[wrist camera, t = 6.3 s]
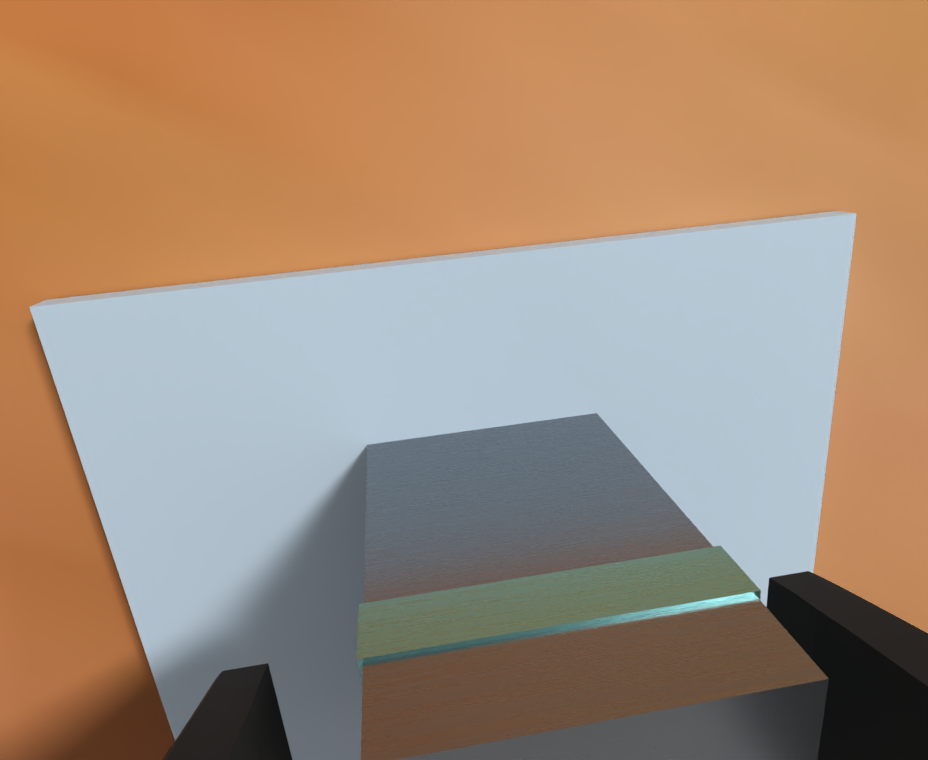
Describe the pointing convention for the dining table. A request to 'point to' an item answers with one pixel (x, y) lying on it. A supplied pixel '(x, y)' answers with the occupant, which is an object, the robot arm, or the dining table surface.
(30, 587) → the dining table surface
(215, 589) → the mat
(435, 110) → the dining table surface
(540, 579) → the block
